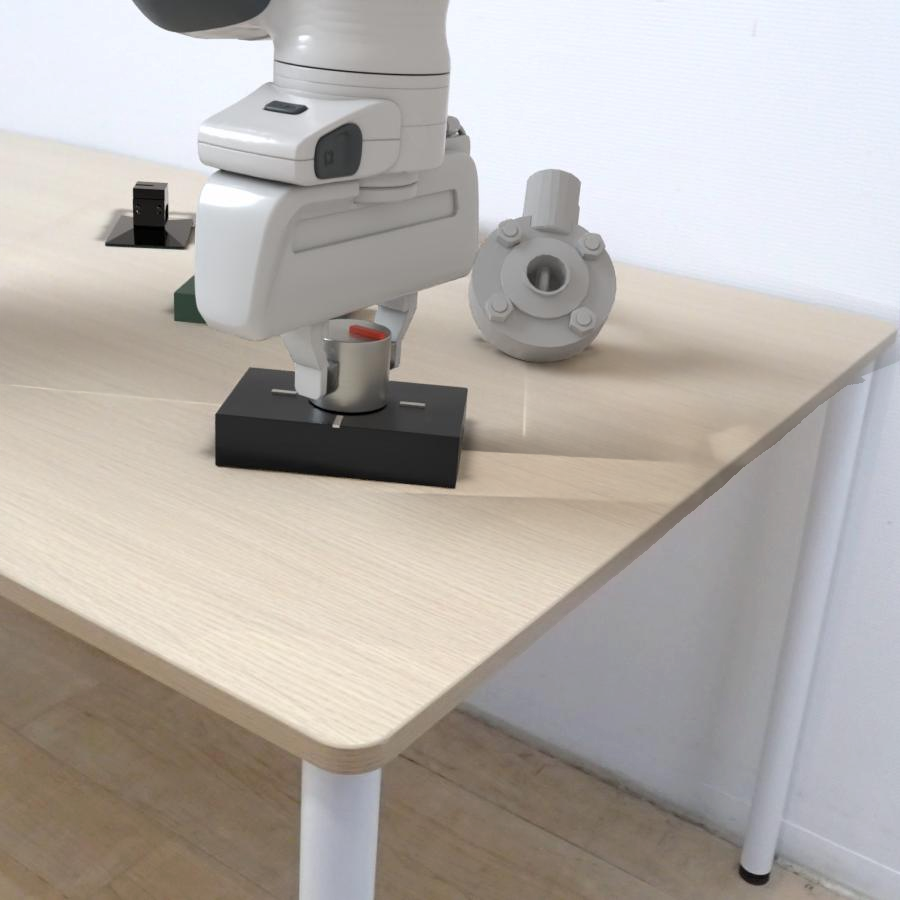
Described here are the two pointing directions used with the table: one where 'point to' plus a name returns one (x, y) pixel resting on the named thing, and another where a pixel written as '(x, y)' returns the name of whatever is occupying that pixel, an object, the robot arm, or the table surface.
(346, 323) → the knob
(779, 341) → the table surface
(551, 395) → the table surface
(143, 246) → the build plate
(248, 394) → the dial panel
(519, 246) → the mechanical valve
